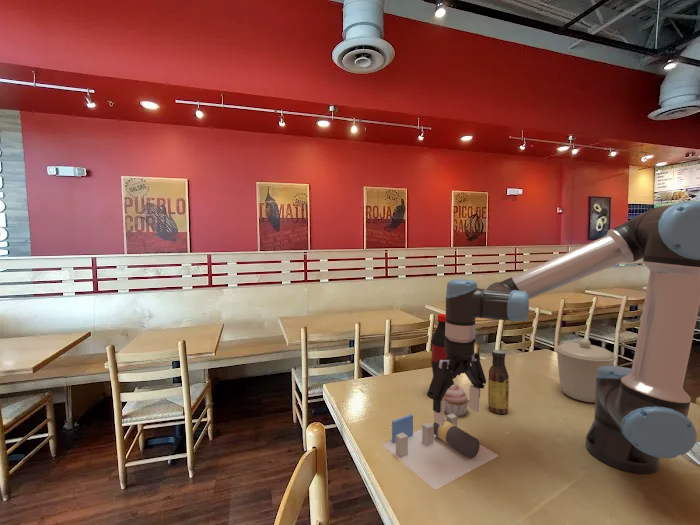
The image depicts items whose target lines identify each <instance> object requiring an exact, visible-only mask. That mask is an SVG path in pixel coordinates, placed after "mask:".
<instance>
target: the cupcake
mask: <svg viewBox="0 0 700 525" xmlns="http://www.w3.org/2000/svg"><path fill="white" fill-rule="evenodd" d="M443 400H444V401H445V404H444V413H446V414H447V415H449V414H454V415H456V416H457V417H462V416H464V415H465V414H466V412H467V409H468V407H469V397H468V395H467V394H466V392H465V391H464V389H463V388H462V387H461V386H460V385H459V384H456V383H454V385H452V386H451V387H450V388H449V389H448V390H447V391H446V393H445V395H444V397H443Z"/></svg>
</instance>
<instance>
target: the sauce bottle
mask: <svg viewBox="0 0 700 525" xmlns="http://www.w3.org/2000/svg"><path fill="white" fill-rule="evenodd" d="M491 356H492V362H491V363H492V365H491V367H489V369H488V379H487V380H488V383H487V384H488V393H487V394H488V395H487V396H488V398H487V400H488V402H487V403H488V409H489V411H491V412H492V413H495V414H500V415H503V414H507V413H508V411H509V402H510V400H509V396H510V394H509V393H510V390H509V388H510V387H509V386H510V382H509V380H510V376H509V373H508V369H507V368H506V363H505V362H506V359H505V358H506V352H505V351H504V350H501V349H494V350H492V351H491Z"/></svg>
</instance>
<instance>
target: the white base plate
mask: <svg viewBox="0 0 700 525" xmlns="http://www.w3.org/2000/svg"><path fill="white" fill-rule="evenodd" d="M445 420H446V421H448V422H450V423H451V424H453V425H455V426H456V427H458V416H456V415H454V414H447V415H446V416H445ZM421 427H422V428H421V429H418V430H415V431H414V415H413V414H412V413H411V414H408V415H404V416H402V417H399V418H396V419H394V420H392V421H391V441H387V442H385V443H383V444H381V446H382V447H383V448H385V449H386V450H388V452H389V453H391V454H392V455H393V456H394V457H395V458H397V459H398V460H399V461H400V462H401V463H402V464H404V465H405V466H406V467H407V468H408V469H409V470H411V471H412V472H413V473H414V474H415V475H417V476H418V477H419V478H420V479H421V480H422V481H424V482H425V483H426V484H427V485H429V486H430V487H431V488H432V489H434V491H435V490H437V489H440V488H442V487H443V486H445V485H447V484H449V483H451V482H453V481H454V480H456V479H458V478H460V477H462V476H464V475H466V474H467V473H469V472H471V471H473V470H475V469H478V468H479V467H480V466H483V465H484V464H487V463H488V462H490V461H492V460H493V459H495V458H497V457H499V456H500V455H499V454H497V453H495V452H494V451H492V450H490V449H489V448H487V447H485V446H484V445H482V444H480V447H479V451H478V453H477V455H476V456H475V457H474V458H469V457H467V456H466V455H464V454H463V453H461V452H460V451H458V450H457V449H455V448H454V447H452V446H451V445H449V444H447V443H446V442H444V441H443V440H441V439H440V438H439V437H437V436H436V435H434V425H433V424H432V423H431V422H426V423H423V424H422V425H421Z"/></svg>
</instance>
